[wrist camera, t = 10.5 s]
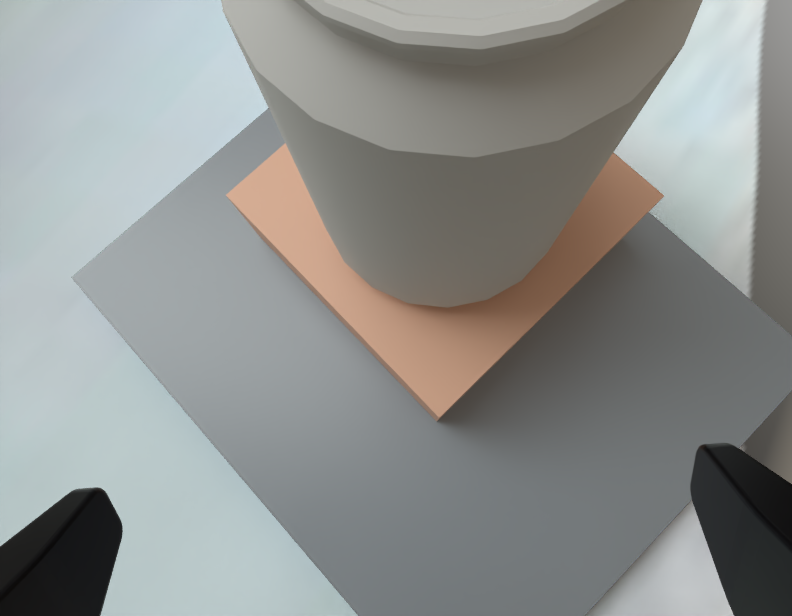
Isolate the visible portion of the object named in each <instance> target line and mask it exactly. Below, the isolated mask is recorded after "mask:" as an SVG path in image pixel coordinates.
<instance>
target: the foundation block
mask: <svg viewBox="0 0 792 616" xmlns="http://www.w3.org/2000/svg"><path fill="white" fill-rule="evenodd" d="M226 196H227V197H228V199H229V200H230V201H231V202H232V203H233V205H234V206H235V207H236V208H237V210H238V211H239V212H240V213H241V214H242V216H243V217H244V218H245V219H246V221H247V222H248V223H249V224H250V225H251V227H252V228H253V229H254V230H255V232H256V233H257V234H258V235H259V236H260V237H261V238H262V240H263V241H264V242H265V243H266V244H267V245H268V246H269V247H270V248H271V249H272V250H273V251H274V252H275V253H276V254H277V255H278V256H279V257H280V258H281V259H282V260H283V261H284V263H285V264H286V265H287V266H288V267H289V268H290V269H291V270H292V271H293V272H294V273H295V274H296V275H297V276H298V277H299V278H300V279H301V280H302V281H303V282H304V283H305V284H306V286H307V287H308V288H309V289H310V290H311V291H312V292H313V293H314V294H315V295H316V296H317V297H318V298H319V299H320V300H321V301H322V302H323V303H324V304H325V305H326V306H327V307H328V309H329V310H330V311H331V312H332V313H333V314H334V315H335V316H336V317H337V318H338V319H339V320H340V321H341V322H342V323H343V324H344V325H345V326H346V327H347V328H348V329H349V331H350V332H351V333H352V334H353V335H354V336H355V337H356V338H357V339H358V340H359V341H360V342H361V343H362V344H363V345H364V346H365V347H366V348H367V349H368V350H369V351H370V352H371V354H372V355H373V356H374V357H375V358H376V359H377V360H378V361H379V362H380V363H381V364H382V365H383V366H384V367H385V368H386V369H387V370H388V371H389V372H390V373H391V374H392V375H393V377H394V378H395V379H396V380H397V381H398V382H399V383H400V384H401V385H402V386H403V387H404V388H405V389H406V390H407V391H408V392H409V393H410V394H411V395H412V396H413V397H414V398H415V400H416V401H417V402H418V403H419V404H420V405H421V406H422V407H423V408H424V409H425V410H426V411H427V412H428V413H429V414H430V415H431V416H432V417H433V418H434V419H435V420H436V421H438V420H439V419H440V418H441V417H442V416H443V415H444V414H445V413H446V412H447V411H448V410H449V409H450V408H451V407H452V406H453V405H454V404H455V403H456V402H457V401H458V400H459V399H460V398H461V397H462V396H463V395H464V394H465V393H466V392H467V391H468V390H469V389H470V388H471V387H472V386H473V385H474V384H475V383H476V382H477V381H478V380H479V379H480V378H481V377H482V376H483V375H484V374H485V373H486V372H487V371H488V370H489V369H490V368H491V367H492V366H493V365H494V364H495V363H497V362H498V361H499V360H500V359H501V358H502V357H503V356H504V355H505V354H506V353H507V352H508V351H509V350H510V349H511V348H512V347H513V346H514V345H515V344H516V343H517V342H518V341H519V340H520V339H521V338H522V337H523V336H524V335H525V334H526V333H527V332H528V331H529V330H530V329H531V328H532V327H533V326H534V325H535V324H536V323H537V322H538V321H539V320H540V319H541V318H542V317H543V316H544V315H545V314H546V313H547V312H548V311H549V310H550V309H551V308H552V307H553V306H554V305H555V304H556V303H557V302H558V301H559V300H560V299H561V298H562V297H563V296H564V295H565V294H566V293H567V292H568V291H569V290H570V289H571V288H573V287H574V286H575V285H576V284H577V283H578V282H579V281H580V280H581V279H582V278H583V277H584V276H585V275H586V274H587V273H588V272H589V271H590V270H591V269H592V268H593V267H594V266H595V265H596V264H597V263H598V262H599V261H600V260H601V259H602V258H603V257H604V256H605V255H606V254H607V253H608V252H609V251H610V250H611V249H612V248H613V247H614V246H615V245H616V244H617V243H618V242H619V241H620V240H621V239H622V238H623V237H624V236H625V235H626V234H627V233H628V232H629V231H630V230H631V229H632V228H633V227H634V226H635V225H636V224H637V223H638V222H639V221H640V220H641V219H642V218H643V217H644V216H645V215H646V214H647V213H648V212H649V211H650V210H651V209H652V208H653V207H654V206H655V205H656V204H657V203H658V202H659V201H660V200H661V199H662V198H663V197H664V195H663V194H662V193H660V192H659V191H658V190H657V189H656V188H654V187H653V186H652V185H651V184H650V183H649V182H647V181H646V180H645V179H644V178H643V177H642V176H640V175H639V174H638V173H637V172H636V171H635V170H633V169H632V168H631V167H630V166H629V165H627V164H626V163H625V162H624V161H623V160H622V159H620V158H619V157H618V156H617V155H616V154H615V153H612V155H611V156H610V158H609V160H608V161H607V163H606V164H605V166H604V167H603V169H602V170H601V172H600V173H599V175H598V176H597V178H596V179H595V181H594V182H593V184H592V185H591V187H590V188H589V190H588V191H587V193H586V194H585V196H584V197H583V199H582V201H581V202H580V204H579V205H578V207H577V208H576V210H575V211H574V213H573V214H572V216H571V217H570V219H569V220H568V222H567V223H566V225H565V226H564V228H563V229H562V231H561V232H560V234H559V235H558V237H557V238H556V240H555V242H554V243H553V245H552V246H551V248H550V249H549V251H548V252H547V253H546V254H545V256H544V257H543V258H542V259H541V260H540V261H539V262H538V263H537V264H536V265H535V266H534V268H533V269H532V270H531V271H530V272H529V273H528V274H527V275H526V276H525V277H524V278H523V280H522V281H520V282H518V283H517V284H515V285H513V286H511V287H509V288H508V289H506V290H504V291H502V292H500V293H499V294H497V295H495V296H493V297H491V298H490V299H488V300H484V301H479V302H474V303H469V304H464V305H459V306H454V307H449V308H446V307H437V306H428V305H419V304H410V303H406V302H404V301H402V300H400V299H397V298H395V297H393V296H391V295H388V294H386V293H384V292H382V291H379V290H377V289H375V288H373V287H371V286H370V285H369V284H368V283H367V282H366V281H365V280H364V279H363V278H361V277H360V276H359V275H358V274H357V273H356V272H355V271H354V270H353V269H351V268H350V267H349V266H348V265H347V264H346V263H345V262H344V260H343V259H342V257H341V255H340V253H339V252H338V250H337V248H336V246H335V244H334V243H333V241H332V239H331V237H330V235H329V234H328V232H327V230H326V228H325V226H324V224H323V222H322V219H321V217H320V215H319V213H318V211H317V209H316V207H315V205H314V202H313V200H312V198H311V196H310V194H309V192H308V190H307V188H306V186H305V183H304V181H303V179H302V177H301V175H300V173H299V171H298V169H297V166H296V164H295V162H294V160H293V158H292V156H291V154H290V152H289V150H288V147H287V145H286V143H285V144H284V145H283V146H281V147H280V148H279V149H278V150H277V151H276V152H275V153H273V154H272V155H271V156H270V157H269V158H268V159H267V160H265V161H264V162H263V163H262V164H261V165H260V166H259V167H257V168H256V169H255V170H254V171H253V172H252V173H250V174H249V175H248V176H247V177H246V178H245V179H244V180H242V181H241V182H240V183H239V184H238V185H237V186H236V187H234V188H233V189H232V190H231V191H230V192H229V193H228V194H226Z"/></svg>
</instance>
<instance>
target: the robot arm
mask: <svg viewBox="0 0 792 616" xmlns="http://www.w3.org/2000/svg"><path fill="white" fill-rule="evenodd" d="M690 492H691V498H692V501H693V504H694V507H695V510H696V513H697V516H698V519H699V521H700V524H701V527H702V530H703V533H704V536H705V538H706V541H707V544H708V547H709V550H710V553H711V555H712V558H713V561H714V564H715V567H716V570H717V572H718V575H719V578H720V581H721V584H722V587H723V589H724V592H725V595H726V597H727V600H728V602H729V605H730V607H731V609H732V612H733V614H734V616H792V484H791V483H789V482H788V481H786V480H785V479H783V478H782V477H780V476H779V475H777V474H776V473H774V472H773V471H771V470H769V469H768V468H767V467H765V466H764V465H762V464H761V463H759V462H758V461H757V460H755V459H753V458H752V457H750V456H749V455H748V454H746V453H745V452H743V451H742V450H740V449H739V448H737V447H736V446H734V445H732V444H730V443H714V444H703V445H700V446H699V447H698V449H697V451H696V455H695V461H694V466H693V471H692V477H691V482H690ZM122 532H123V530H122V523H121V520H120V518H119V516H118V514H117V512H116V510H115V508H114V507H113V505H112V503H111V501H110V499H109V497H108V495H107V493H106V492H105V491H104V490H103V489H101V488H83V489H76V490H73V491H71V492H70V493H69V494H67V495H66V496H65V497H63V498H62V499H61V500H60V501H58V502H57V503H56V504H54V505H53V506H52V507H51V508H49V509H48V510H47V511H45V512H44V513H43V514H41V515H40V516H39V517H38V518H36V519H35V520H34V521H32V522H31V523H30V524H29V525H27V526H26V527H25V528H23V529H22V530H21V531H20V532H18V533H17V534H16V535H14V536H13V537H12V538H11V539H9V540H8V541H7V542H5V543H4V544H3V545H2V546H0V616H100V615H101V611H102V608H103V604H104V600H105V597H106V593H107V590H108V586H109V582H110V579H111V575H112V572H113V568H114V564H115V561H116V557H117V553H118V550H119V546H120V543H121V539H122Z"/></svg>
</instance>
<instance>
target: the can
mask: <svg viewBox="0 0 792 616" xmlns="http://www.w3.org/2000/svg"><path fill="white" fill-rule="evenodd" d="M221 1H222V7H223V12H224V14H225V16H226V18H227V20H228V22H229V25H230V27H231V29H232V31H233V33H234V35H235V37H236V39H237V42H238V44H239V46H240V48H241V50H242V52H243V54H244V56H245V58H246V61H247V63H248V65H249V67H250V69H251V71H252V73H253V75H254V78H255V80H256V82H257V84H258V86H259V88H260V90H261V92H262V94H263V97H264V99H265V101H266V103H267V105H268V107H269V109H270V111H271V114H272V116H273V118H274V120H275V122H276V124H277V126H278V128H279V130H280V133H281V135H282V137H283V139H284V141H285V143H286V145H287V147H288V150H289V152H290V154H291V156H292V158H293V160H294V162H295V164H296V166H297V169H298V171H299V173H300V175H301V177H302V179H303V181H304V183H305V186H306V188H307V190H308V192H309V194H310V196H311V198H312V200H313V202H314V205H315V207H316V209H317V211H318V213H319V215H320V217H321V219H322V222H323V224H324V226H325V228H326V230H327V232H328V234H329V235H330V237H331V239H332V241H333V243H334V244H335V246H336V248H337V250H338V252H339V253H340V255H341V257H342V259H343V260H344V262H345V263H346V264H347V265H348V266H349V267H350V268H351V269H353V270H354V271H355V272H356V273H357V274H358V275H359V276H360V277H361V278H363V279H364V280H365V281H366V282H367V283H368V284H369V285H370V286H371V287H373V288H375V289H377V290H379V291H382V292H384V293H386V294H388V295H391V296H393V297H395V298H397V299H400V300H402V301H404V302H406V303H410V304H419V305H428V306H437V307H446V308H449V307H454V306H459V305H464V304H469V303H474V302H479V301H484V300H488V299H490V298H491V297H493V296H495V295H497V294H499V293H500V292H502V291H504V290H506V289H508V288H509V287H511V286H513V285H515V284H517V283H518V282H520V281H522V280H523V278H524V277H525V276H526V275H527V274H528V273H529V272H530V271H531V270H532V269H533V268H534V266H535V265H536V264H537V263H538V262H539V261H540V260H541V259H542V258H543V257H544V256H545V254H546V253H547V252H548V251H549V249H550V248H551V246H552V245H553V243H554V242H555V240H556V238H557V237H558V235H559V234H560V232H561V231H562V229H563V228H564V226H565V225H566V223H567V222H568V220H569V219H570V217H571V216H572V214H573V213H574V211H575V210H576V208H577V207H578V205H579V204H580V202H581V201H582V199H583V197H584V196H585V194H586V193H587V191H588V190H589V188H590V187H591V185H592V184H593V182H594V181H595V179H596V178H597V176H598V175H599V173H600V172H601V170H602V169H603V167H604V166H605V164H606V163H607V161H608V160H609V158H610V156H611V155H612V153H613V152H614V150H615V149H616V147H617V146H618V144H619V143H620V141H621V140H622V138H623V137H624V135H625V134H626V132H627V131H628V129H629V128H630V126H631V125H632V123H633V122H634V120H635V119H636V117H637V115H638V114H639V112H640V111H641V109H642V108H643V106H644V105H645V103H646V102H647V100H648V99H649V97H650V96H651V94H652V93H653V91H654V90H655V88H656V87H657V85H658V84H659V82H660V81H661V79H662V78H663V76H664V74H665V73H666V71H667V70H668V68H669V67H670V65H671V64H672V62H673V61H674V59H675V58H676V56H677V55H678V53H679V52H680V50H681V49H682V47H683V46H684V44H685V41H686V39H687V36H688V34H689V32H690V29H691V27H692V24H693V22H694V19H695V17H696V15H697V12H698V10H699V7H700V5H701V3H702V0H221Z"/></svg>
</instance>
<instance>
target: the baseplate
mask: <svg viewBox="0 0 792 616" xmlns="http://www.w3.org/2000/svg"><path fill="white" fill-rule="evenodd" d="M284 144H285V141H284V139H283V137H282V135H281V133H280V130H279V128H278V126H277V124H276V122H275V120H274V118H273V116H272V114H271V111H270V109H269V108H268V109H267V110H266V111H265V112H263V113H262V114H261V115H260V116H259V117H258V118H256V119H255V120H254V121H253V122H252V123H251V124H249V125H248V126H247V127H246V128H245V129H244V130H242V131H241V132H240V133H239V134H238V135H237V136H236V137H234V138H233V139H232V140H231V141H230V142H229V143H227V144H226V145H225V146H224V147H223V148H222V149H220V150H219V151H218V152H217V153H216V154H215V155H213V156H212V157H211V158H210V159H209V160H208V161H206V162H205V163H204V164H203V165H202V166H201V167H199V168H198V169H197V170H196V171H195V172H194V173H192V174H191V175H190V176H189V177H188V178H187V179H185V180H184V181H183V182H182V183H181V184H180V185H178V186H177V187H176V188H175V189H174V190H173V191H171V192H170V193H169V194H168V195H167V196H166V197H164V198H163V199H162V200H161V201H160V202H159V203H157V204H156V205H155V206H154V207H153V208H152V209H150V210H149V211H148V212H147V213H146V214H145V215H143V216H142V217H141V218H140V219H139V220H138V221H136V222H135V223H134V224H133V225H132V226H131V227H130V228H128V229H127V230H126V231H125V232H124V233H123V234H121V235H120V236H119V237H118V238H117V239H116V240H114V241H113V242H112V243H111V244H110V245H109V246H107V247H106V248H105V249H104V250H103V251H102V252H100V253H99V254H98V255H97V256H96V257H95V258H93V259H92V260H91V261H90V262H89V263H88V264H86V265H85V266H84V267H83V268H82V269H81V270H79V271H78V272H77V273H76V274H75V275H74V276H72V277H71V278H72V279H73V280H74V281H75V282H76V284H77V285H78V286H79V287H80V288H81V289H82V291H83V292H84V293H85V294H86V295H87V297H88V298H89V299H90V300H91V301H92V302H93V304H94V305H95V306H96V307H97V308H98V310H99V311H100V312H101V313H102V314H103V315H104V317H105V318H106V319H107V320H108V321H109V322H110V324H111V325H112V326H113V327H114V328H115V330H116V331H117V332H118V333H119V334H120V335H121V337H122V338H123V339H124V340H125V341H126V343H127V344H128V345H129V346H130V347H131V348H132V350H133V351H134V352H135V353H136V354H137V355H138V357H139V358H140V359H141V360H142V361H143V363H144V364H145V365H146V366H147V367H148V368H149V370H150V371H151V372H152V373H153V374H154V376H155V377H156V378H157V379H158V380H159V381H160V383H161V384H162V385H163V386H164V387H165V388H166V390H167V391H168V392H169V393H170V394H171V396H172V397H173V398H174V399H175V400H176V401H177V403H178V404H179V405H180V406H181V407H182V408H183V410H184V411H185V412H186V413H187V414H188V416H189V417H190V418H191V419H192V420H193V421H194V423H195V424H196V425H197V426H198V427H199V429H200V430H201V431H202V432H203V433H204V434H205V436H206V437H207V438H208V439H209V440H210V441H211V443H212V444H213V445H214V446H215V447H216V449H217V450H218V451H219V452H220V453H221V454H222V456H223V457H224V458H225V459H226V460H227V462H228V463H229V464H230V465H231V466H232V467H233V469H234V470H235V471H236V472H237V473H238V474H239V476H240V477H241V478H242V479H243V480H244V482H245V483H246V484H247V485H248V486H249V487H250V489H251V490H252V491H253V492H254V493H255V495H256V496H257V497H258V498H259V499H260V500H261V502H262V503H263V504H264V505H265V506H266V507H267V509H268V510H269V511H270V512H271V513H272V515H273V516H274V517H275V518H276V519H277V520H278V522H279V523H280V524H281V525H282V526H283V528H284V529H285V530H286V531H287V532H288V533H289V535H290V536H291V537H292V538H293V539H294V540H295V542H296V543H297V544H298V545H299V546H300V548H301V549H302V550H303V551H304V552H305V553H306V555H307V556H308V557H309V558H310V559H311V560H312V562H313V563H314V564H315V565H316V566H317V568H318V569H319V570H320V571H321V572H322V573H323V575H324V576H325V577H326V578H327V579H328V581H329V582H330V583H331V584H332V585H333V586H334V588H335V589H336V590H337V591H338V592H339V593H340V595H341V596H342V597H343V598H344V599H345V601H346V602H347V603H348V604H349V605H350V606H351V608H352V609H353V610H354V611H355V612H356V614H357V615H358V616H585V615H586V614H587V613H588V612H589V611H590V610H591V608H592V607H593V606H594V605H595V604H596V603H597V602H598V601H599V600H600V599H601V598H602V596H603V595H604V594H605V593H606V592H607V591H608V590H609V589H610V588H611V587H612V586H613V585H614V583H615V582H616V581H617V580H618V579H619V578H620V577H621V576H622V575H623V574H624V573H625V571H626V570H627V569H628V568H629V567H630V566H631V565H632V564H633V563H634V562H635V561H636V560H637V558H638V557H639V556H640V555H641V554H642V553H643V552H644V551H645V550H646V549H647V548H648V546H649V545H650V544H651V543H652V542H653V541H654V540H655V539H656V538H657V537H658V536H659V535H660V533H661V532H662V531H663V530H664V529H665V528H666V527H667V526H668V525H669V524H670V523H671V522H672V520H673V519H674V518H675V517H676V516H677V515H678V514H679V513H680V512H681V511H682V510H683V508H684V507H685V506H686V505H687V504H688V503H689V502H690V501H691V500H692V498H691V492H690V482H691V477H692V471H693V466H694V461H695V455H696V451H697V449H698V447H699V446H700V445H703V444H714V443H730V444H732V445H734V446H736V447H737V448H740V447H741V445H742V444H743V443H744V442H745V441H746V440H747V439H748V438H749V437H750V436H751V435H752V433H753V432H754V431H755V430H756V429H757V428H758V427H759V426H760V425H761V424H762V423H763V422H764V420H765V419H766V418H767V417H768V416H769V415H770V414H771V412H773V411H774V409H776V407H777V406H778V405H779V404H780V403H781V402H782V401H783V400H784V399H785V397H786V396H787V395H788V394H789V393H790V392H791V391H792V335H791V334H789V333H788V332H787V331H786V330H785V329H784V328H782V327H781V326H780V325H779V324H778V323H776V321H774V320H773V319H772V318H771V317H770V316H769V315H767V314H766V313H765V312H764V311H763V310H762V309H760V308H759V307H758V306H757V305H756V304H754V303H753V302H752V301H751V300H750V299H749V298H748V297H747V296H745V295H744V294H743V293H742V292H741V291H740V290H738V289H737V288H736V287H735V286H734V285H733V284H731V283H730V282H729V281H728V280H727V279H726V278H725V277H723V276H722V275H721V274H720V273H719V272H718V271H716V270H715V269H714V268H713V267H712V266H711V265H709V264H708V263H707V262H706V261H705V260H704V259H703V258H701V257H700V256H699V255H698V254H697V253H696V252H694V251H693V250H692V249H691V248H690V247H689V246H687V245H686V244H685V243H684V242H683V241H682V240H681V239H679V238H678V237H677V236H676V235H675V234H674V233H672V232H671V231H670V230H669V229H668V228H667V227H665V226H664V225H663V224H662V223H661V222H660V221H659V220H657V219H656V218H655V217H654V216H653V215H652V214H650V213H649V212H648V213H647V214H646V215H645V216H644V217H643V218H642V219H641V220H640V221H639V222H638V223H637V224H636V225H635V226H634V227H633V228H632V229H631V230H630V231H629V232H628V233H627V234H626V235H625V236H624V237H623V238H622V239H621V240H620V241H619V242H618V243H617V244H616V245H615V246H614V247H613V248H612V249H611V250H610V251H609V252H608V253H607V254H606V255H605V256H604V257H603V258H602V259H601V260H600V261H599V262H598V263H597V264H596V265H595V266H594V267H593V268H592V269H591V270H590V271H589V272H588V273H587V274H586V275H585V276H584V277H583V278H582V279H581V280H580V281H579V282H578V283H577V284H576V285H575V286H574V287H573V288H571V289H570V290H569V291H568V292H567V293H566V294H565V295H564V296H563V297H562V298H561V299H560V300H559V301H558V302H557V303H556V304H555V305H554V306H553V307H552V308H551V309H550V310H549V311H548V312H547V313H546V314H545V315H544V316H543V317H542V318H541V319H540V320H539V321H538V322H537V323H536V324H535V325H534V326H533V327H532V328H531V329H530V330H529V331H528V332H527V333H526V334H525V335H524V336H523V337H522V338H521V339H520V340H519V341H518V342H517V343H516V344H515V345H514V346H513V347H512V348H511V349H510V350H509V351H508V352H507V353H506V354H505V355H504V356H503V357H502V358H501V359H500V360H499V361H498V362H497V363H495V364H494V365H493V366H492V367H491V368H490V369H489V370H488V371H487V372H486V373H485V374H484V375H483V376H482V377H481V378H480V379H479V380H478V381H477V382H476V383H475V384H474V385H473V386H472V387H471V388H470V389H469V390H468V391H467V392H466V393H465V394H464V395H463V396H462V397H461V398H460V399H459V400H458V401H457V402H456V403H455V404H454V405H453V406H452V407H451V408H450V409H449V410H448V411H447V412H446V413H445V414H444V415H443V416H442V417H441V418H440V419H439V420H438V421H436V420H435V419H434V418H433V417H432V416H431V415H430V414H429V413H428V412H427V411H426V410H425V409H424V408H423V407H422V406H421V405H420V404H419V403H418V402H417V401H416V400H415V398H414V397H413V396H412V395H411V394H410V393H409V392H408V391H407V390H406V389H405V388H404V387H403V386H402V385H401V384H400V383H399V382H398V381H397V380H396V379H395V378H394V377H393V375H392V374H391V373H390V372H389V371H388V370H387V369H386V368H385V367H384V366H383V365H382V364H381V363H380V362H379V361H378V360H377V359H376V358H375V357H374V356H373V355H372V354H371V352H370V351H369V350H368V349H367V348H366V347H365V346H364V345H363V344H362V343H361V342H360V341H359V340H358V339H357V338H356V337H355V336H354V335H353V334H352V333H351V332H350V331H349V329H348V328H347V327H346V326H345V325H344V324H343V323H342V322H341V321H340V320H339V319H338V318H337V317H336V316H335V315H334V314H333V313H332V312H331V311H330V310H329V309H328V307H327V306H326V305H325V304H324V303H323V302H322V301H321V300H320V299H319V298H318V297H317V296H316V295H315V294H314V293H313V292H312V291H311V290H310V289H309V288H308V287H307V286H306V284H305V283H304V282H303V281H302V280H301V279H300V278H299V277H298V276H297V275H296V274H295V273H294V272H293V271H292V270H291V269H290V268H289V267H288V266H287V265H286V264H285V263H284V261H283V260H282V259H281V258H280V257H279V256H278V255H277V254H276V253H275V252H274V251H273V250H272V249H271V248H270V247H269V246H268V245H267V244H266V243H265V242H264V241H263V240H262V238H261V237H260V236H259V235H258V234H257V233H256V232H255V230H254V229H253V228H252V227H251V225H250V224H249V223H248V222H247V221H246V219H245V218H244V217H243V216H242V214H241V213H240V212H239V211H238V210H237V208H236V207H235V206H234V205H233V203H232V202H231V201H230V200H229V199H228V197H227V196H226V194H228V193H229V192H230V191H231V190H232V189H233V188H234V187H236V186H237V185H238V184H239V183H240V182H241V181H242V180H244V179H245V178H246V177H247V176H248V175H249V174H250V173H252V172H253V171H254V170H255V169H256V168H257V167H259V166H260V165H261V164H262V163H263V162H264V161H265V160H267V159H268V158H269V157H270V156H271V155H272V154H273V153H275V152H276V151H277V150H278V149H279V148H280V147H281V146H283V145H284Z"/></svg>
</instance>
